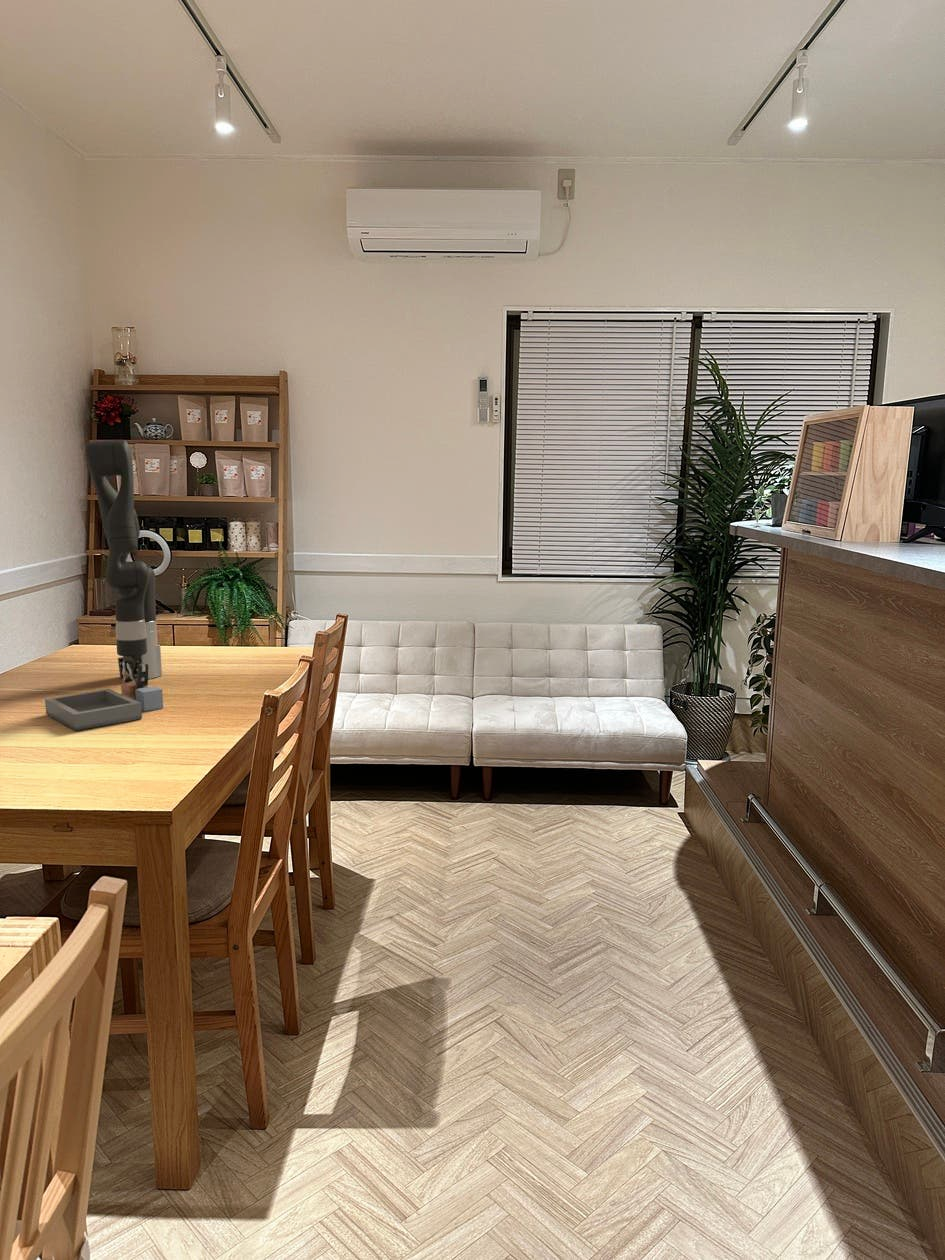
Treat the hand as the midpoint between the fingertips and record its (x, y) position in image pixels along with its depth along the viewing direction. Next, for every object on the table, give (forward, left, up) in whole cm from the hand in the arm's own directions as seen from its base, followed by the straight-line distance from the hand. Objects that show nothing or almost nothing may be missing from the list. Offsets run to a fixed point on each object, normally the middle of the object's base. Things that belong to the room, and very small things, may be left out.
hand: (134, 698), depth 230 cm
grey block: (0, +9, -1) cm, 9 cm away
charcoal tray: (+14, +8, -1) cm, 16 cm away
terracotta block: (0, 0, -1) cm, 1 cm away
